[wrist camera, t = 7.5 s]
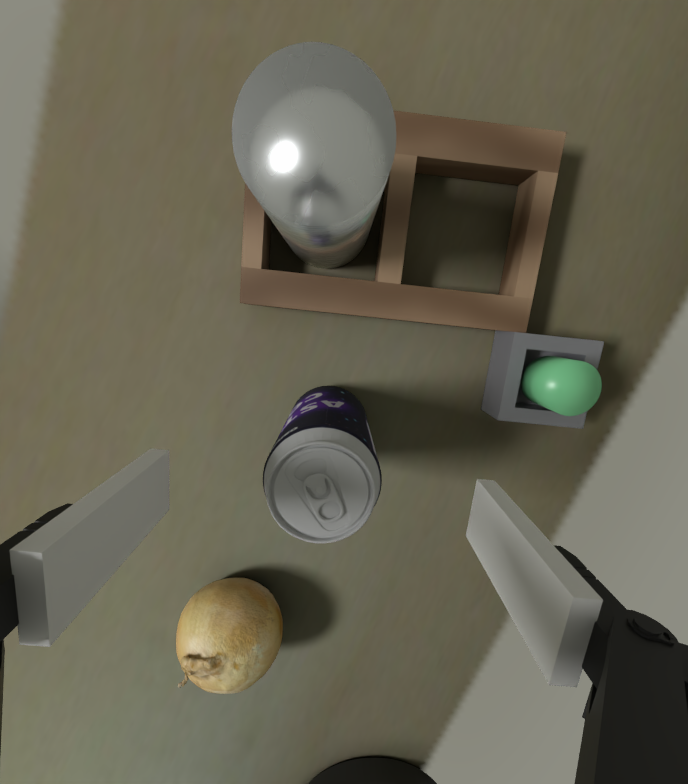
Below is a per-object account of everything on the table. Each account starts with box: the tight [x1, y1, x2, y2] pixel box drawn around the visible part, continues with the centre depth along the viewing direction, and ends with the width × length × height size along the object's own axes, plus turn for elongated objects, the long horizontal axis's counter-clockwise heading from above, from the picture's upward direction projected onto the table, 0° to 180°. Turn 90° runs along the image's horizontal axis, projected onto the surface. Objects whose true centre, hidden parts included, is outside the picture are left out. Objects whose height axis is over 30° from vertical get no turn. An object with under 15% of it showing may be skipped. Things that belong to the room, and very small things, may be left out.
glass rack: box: [240, 111, 566, 333], centre depth 24 cm, size 12×19×2 cm, turn 84°
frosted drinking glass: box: [232, 42, 396, 269], centre depth 19 cm, size 6×6×12 cm
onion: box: [176, 578, 283, 694], centre depth 28 cm, size 8×8×7 cm
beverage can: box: [263, 386, 382, 543], centre depth 22 cm, size 6×6×12 cm
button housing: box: [481, 330, 604, 429], centre depth 26 cm, size 6×6×3 cm
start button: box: [521, 356, 602, 416], centre depth 23 cm, size 3×3×3 cm
